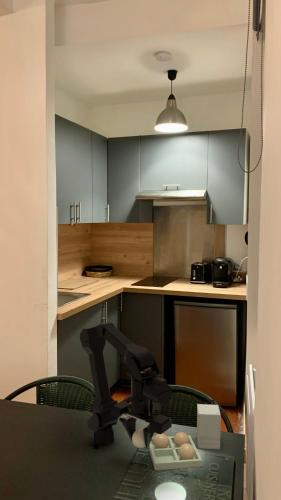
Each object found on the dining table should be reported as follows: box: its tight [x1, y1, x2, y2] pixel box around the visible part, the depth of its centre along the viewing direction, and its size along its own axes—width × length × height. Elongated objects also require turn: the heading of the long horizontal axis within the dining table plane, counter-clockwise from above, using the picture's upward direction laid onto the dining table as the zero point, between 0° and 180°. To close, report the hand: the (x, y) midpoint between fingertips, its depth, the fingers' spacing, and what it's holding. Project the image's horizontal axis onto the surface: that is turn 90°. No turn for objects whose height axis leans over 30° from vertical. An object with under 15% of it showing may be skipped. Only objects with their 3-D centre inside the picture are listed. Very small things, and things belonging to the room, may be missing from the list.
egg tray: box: [148, 434, 203, 471], centre depth 127 cm, size 14×14×3 cm
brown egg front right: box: [179, 443, 195, 460], centre depth 124 cm, size 5×5×5 cm
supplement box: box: [196, 403, 222, 450], centre depth 134 cm, size 7×7×13 cm
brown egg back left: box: [153, 433, 169, 449], centre depth 130 cm, size 5×5×5 cm
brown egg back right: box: [174, 431, 189, 448], centre depth 130 cm, size 5×5×5 cm
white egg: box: [131, 429, 146, 449], centre depth 119 cm, size 5×5×5 cm
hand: (140, 444), depth 119 cm, fingers closed on white egg, 5 cm apart
